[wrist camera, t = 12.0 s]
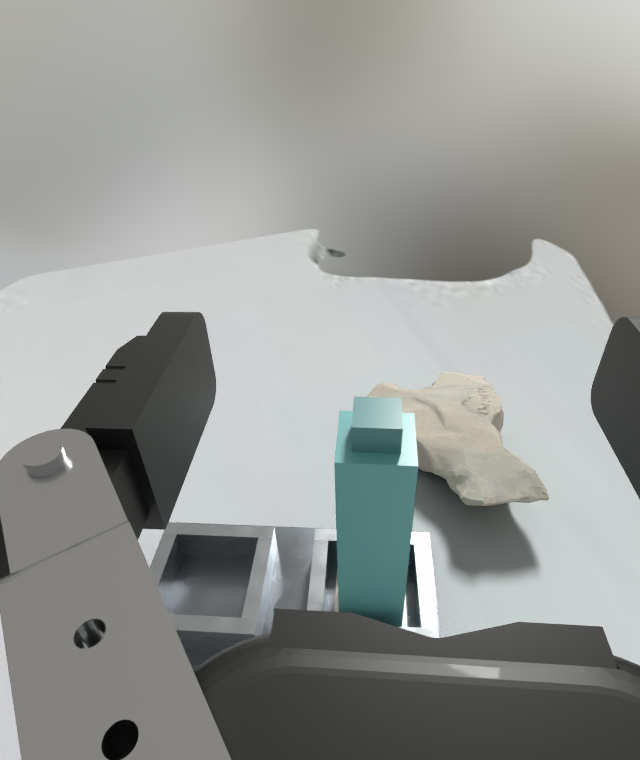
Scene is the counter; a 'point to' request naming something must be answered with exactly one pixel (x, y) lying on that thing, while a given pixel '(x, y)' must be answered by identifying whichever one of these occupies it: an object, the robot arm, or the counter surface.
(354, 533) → the plug
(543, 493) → the rock
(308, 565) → the panel
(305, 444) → the counter surface
